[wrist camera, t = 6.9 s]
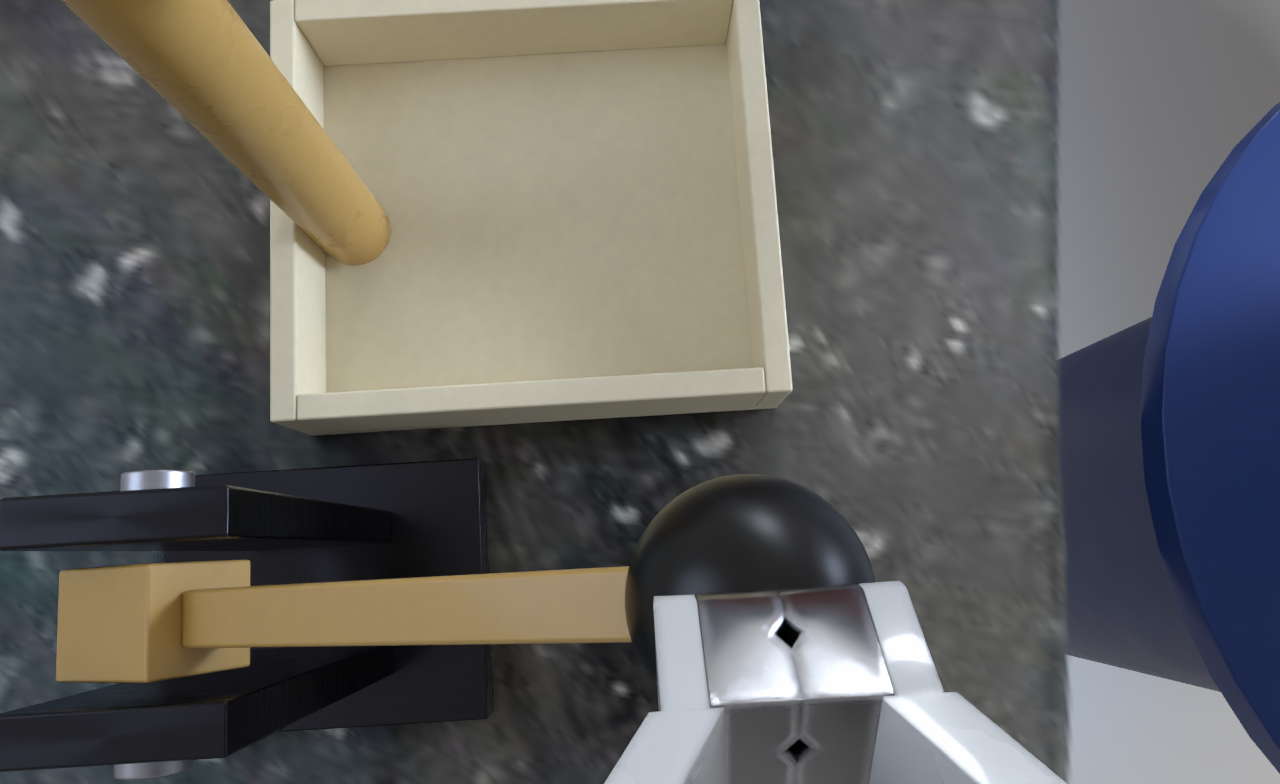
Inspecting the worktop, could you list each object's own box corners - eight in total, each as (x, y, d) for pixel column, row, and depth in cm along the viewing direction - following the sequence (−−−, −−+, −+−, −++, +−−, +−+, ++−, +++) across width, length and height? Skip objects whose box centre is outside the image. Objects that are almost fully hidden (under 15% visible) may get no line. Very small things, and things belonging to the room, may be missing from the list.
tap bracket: (484, 462, 33) (374, 397, 19) (493, 712, 31) (381, 835, 18) (182, 479, 33) (-147, 428, 19) (178, 731, 31) (-177, 870, 18)
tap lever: (891, 468, 15) (819, 455, 12) (915, 709, 15) (847, 761, 12) (187, 533, 23) (29, 535, 19) (185, 695, 22) (21, 724, 19)
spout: (559, 191, 34) (468, -216, 16) (562, 258, 34) (473, -81, 16) (325, 205, 34) (-34, -190, 16) (325, 272, 34) (-42, -54, 16)
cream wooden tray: (745, 31, 35) (757, -28, 32) (776, 408, 33) (793, 391, 29) (306, 55, 35) (269, -1, 31) (309, 436, 33) (269, 422, 29)
